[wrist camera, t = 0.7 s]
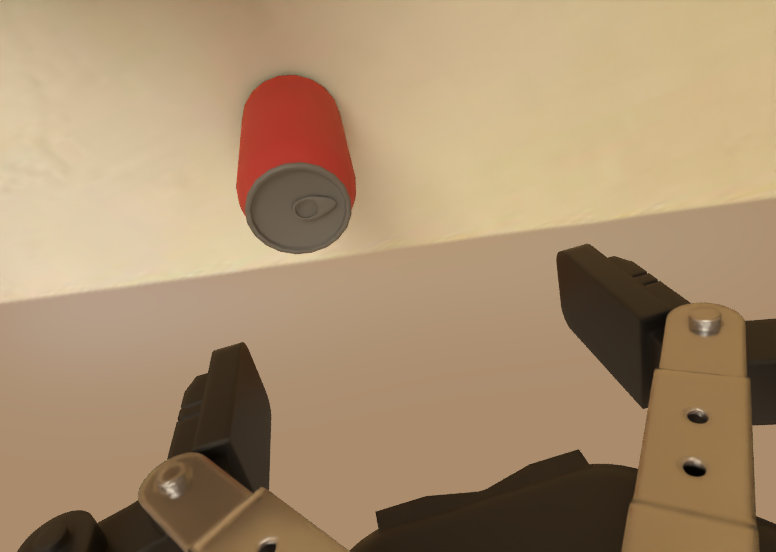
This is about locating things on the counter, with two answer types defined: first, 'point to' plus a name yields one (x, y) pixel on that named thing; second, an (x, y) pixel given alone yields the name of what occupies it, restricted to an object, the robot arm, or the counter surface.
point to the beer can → (294, 166)
